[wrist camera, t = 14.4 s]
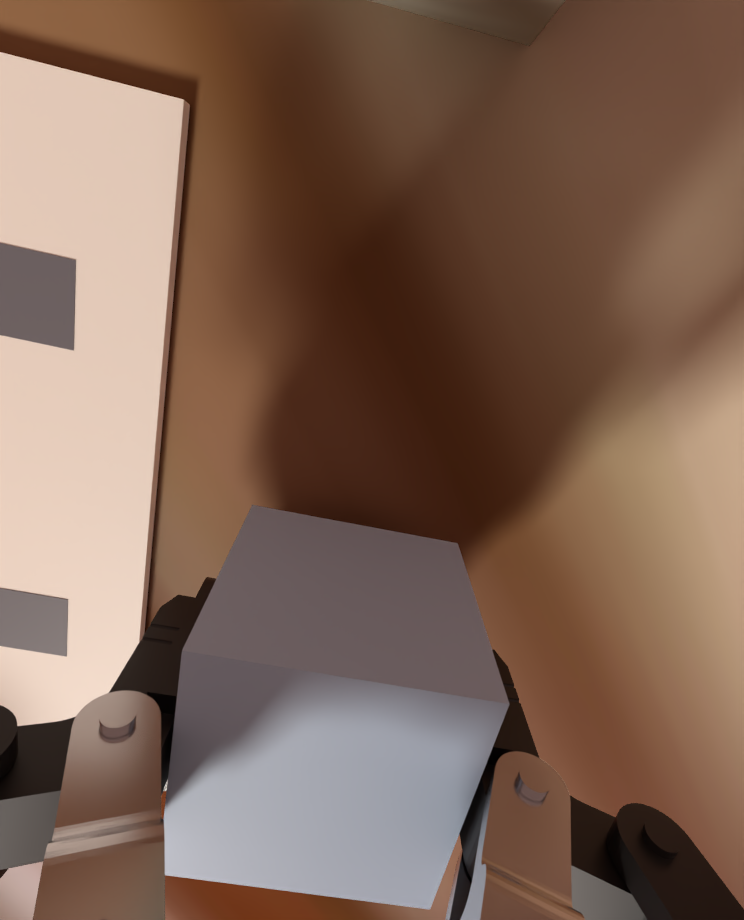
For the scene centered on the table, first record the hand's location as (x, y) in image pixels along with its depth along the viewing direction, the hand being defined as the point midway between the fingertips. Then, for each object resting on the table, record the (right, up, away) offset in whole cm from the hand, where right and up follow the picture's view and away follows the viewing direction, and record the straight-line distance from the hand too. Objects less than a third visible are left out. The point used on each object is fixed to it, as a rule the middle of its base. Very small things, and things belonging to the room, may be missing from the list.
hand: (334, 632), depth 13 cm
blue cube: (0, 0, +1) cm, 1 cm away
